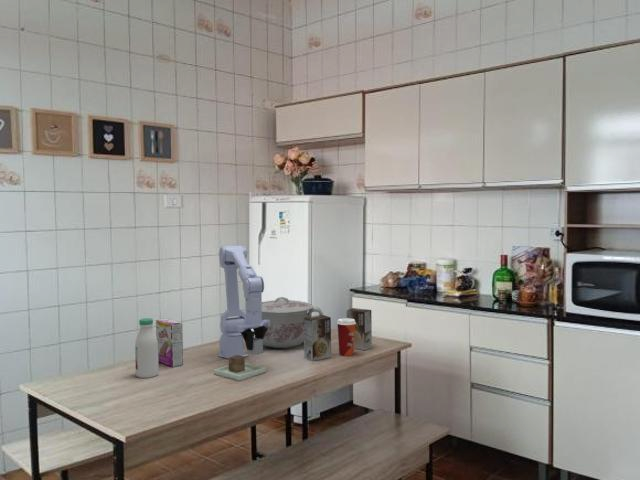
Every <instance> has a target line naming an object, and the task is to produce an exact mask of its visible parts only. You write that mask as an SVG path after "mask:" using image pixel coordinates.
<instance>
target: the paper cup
mask: <svg viewBox="0 0 640 480" xmlns="http://www.w3.org/2000/svg"><path fill="white" fill-rule="evenodd" d="M336 324H337V337H338V338H337V340H338V352H339V356H341V357H342V356H343V357H350V356H351V357H352V356H353V355H354V350H355V349H354V336H355V324H356V322H355V320H354V319H351V318H347V317H346V318H345V317H344V318H338V319H337V322H336Z"/></svg>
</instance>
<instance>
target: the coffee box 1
mask: <svg viewBox="0 0 640 480" xmlns="http://www.w3.org/2000/svg"><path fill="white" fill-rule="evenodd" d="M331 318H332V317H331V316H328V315H324V314H323V315H319V314H318V315H311V316H310V317H304V341H303V351H304V352H303V357H304V359H307V360H309V361H312V362H315V361H319V360H324V359H329V358H332V328H331V327H332V324H331V323H332V321H331V320H332V319H331Z"/></svg>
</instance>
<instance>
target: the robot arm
mask: <svg viewBox="0 0 640 480" xmlns="http://www.w3.org/2000/svg"><path fill="white" fill-rule="evenodd" d="M218 258H219V259H218V260H219V267H220V268H222V269H223V270H224V279H225V281H224V282H225V296H226V308H227V309H226V310H225V311H224V312H223V313H222V314H221V316H220V322H219V323H220V324H219V327H220V331H221V333H222V334H221V335H220V338H219V343H218V344H219V354H217V357H220V358H225V359H228V360H229V357H231V356H235V355H240V356H244V357H245V358H246V357H249V354H247V353H244V352H245V351H244V350H245V348H244V343H245V346H246V351H247V350H252V349H253V338H260V339H263V338H264V336H265V333H266V332H267V327H265V326H269V325H270V320H262V302H263V299H262V294H263V293H264V290H265V283H264V278H263V277H262V276H260V275H258V274H257V272H256V271H255V269H254V267H253V266H252V265H250V264H249V263H248V261H247V258H248V250H247V247H246V246H245V245H244V244H242V245H226V246H225V245H221V246H220V248H219V252H218ZM237 270H238V271H237ZM238 276H239V278H240V280H241V282H242V291H243V297H244V298H243V299H245V312H244V311H243V310H242V309H241V308H240V299H239V298H240V297H239V285H238V284H239V282H238Z"/></svg>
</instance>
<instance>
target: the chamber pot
mask: <svg viewBox="0 0 640 480" xmlns="http://www.w3.org/2000/svg"><path fill="white" fill-rule="evenodd" d="M312 313H318V315H324V313H323V311H322V309H321V308H320V307H318V306H315V307H314V305H313V304H311V303H309V302H305V301H300V300H291V299H290V300H289V299H288V298H287V297H283V296H278V297H277V298H275V299H274V300H267V301H262V320H270V325H269V326H265V327H267V332H266V333H265V336H264V338H263V345H264V346H265V347H269V348H272V349H290V348H295V347H296V346H299V345H301V344H302V343H304V317H310V316H312Z"/></svg>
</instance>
